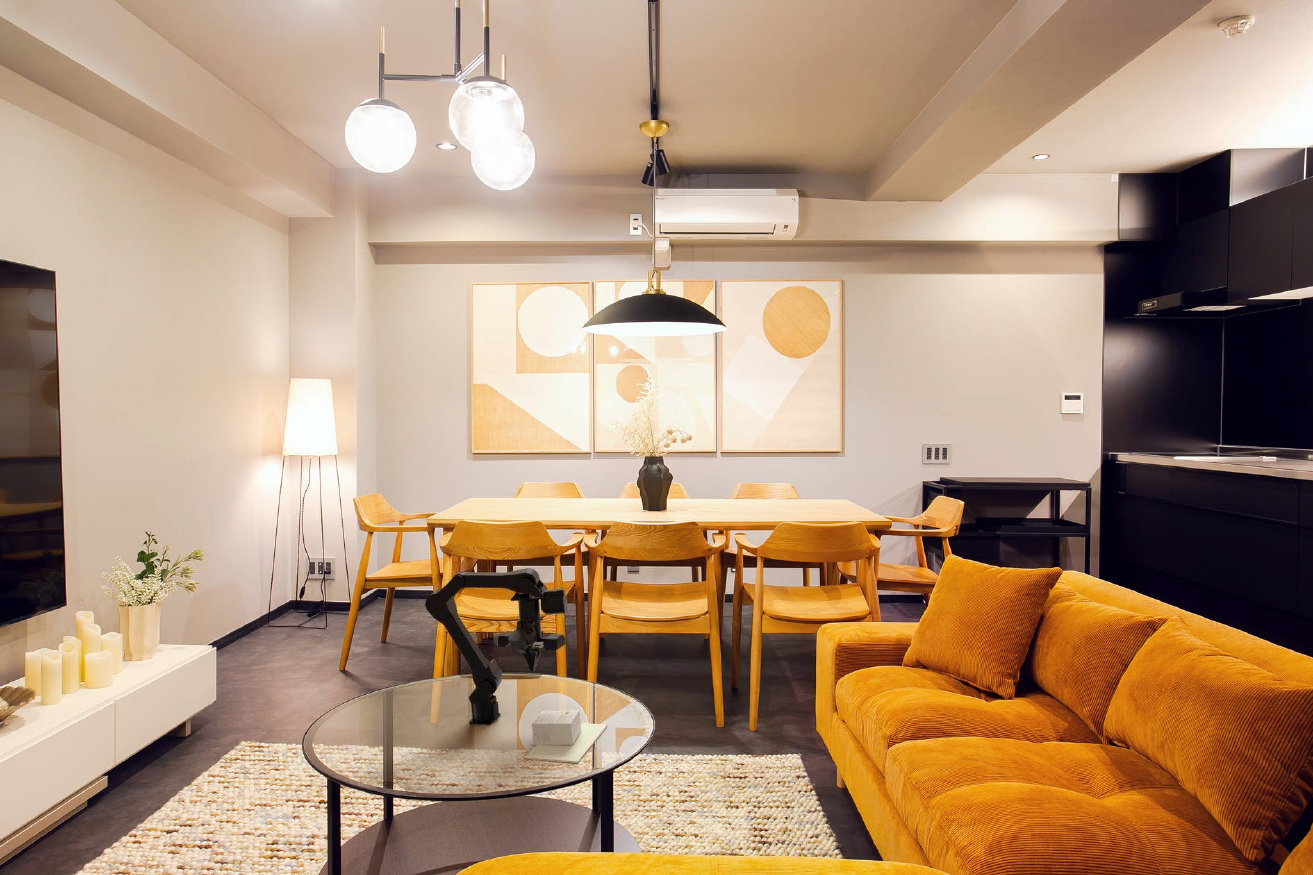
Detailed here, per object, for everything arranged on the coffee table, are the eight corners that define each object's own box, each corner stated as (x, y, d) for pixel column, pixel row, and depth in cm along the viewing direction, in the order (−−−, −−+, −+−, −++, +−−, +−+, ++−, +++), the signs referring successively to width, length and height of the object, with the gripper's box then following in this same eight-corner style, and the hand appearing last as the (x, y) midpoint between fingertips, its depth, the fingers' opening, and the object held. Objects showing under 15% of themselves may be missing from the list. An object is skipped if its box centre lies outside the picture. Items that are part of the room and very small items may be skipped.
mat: (524, 758, 173) (524, 756, 173) (559, 722, 193) (559, 721, 193) (577, 763, 169) (577, 761, 169) (607, 726, 189) (607, 724, 189)
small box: (532, 745, 180) (572, 745, 178) (531, 723, 179) (571, 723, 177) (543, 730, 187) (581, 731, 185) (541, 709, 187) (580, 710, 185)
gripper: (484, 622, 192) (487, 679, 193) (545, 625, 186) (549, 684, 187) (506, 610, 203) (509, 664, 203) (565, 613, 197) (568, 669, 197)
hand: (532, 670), depth 197 cm, fingers closed
